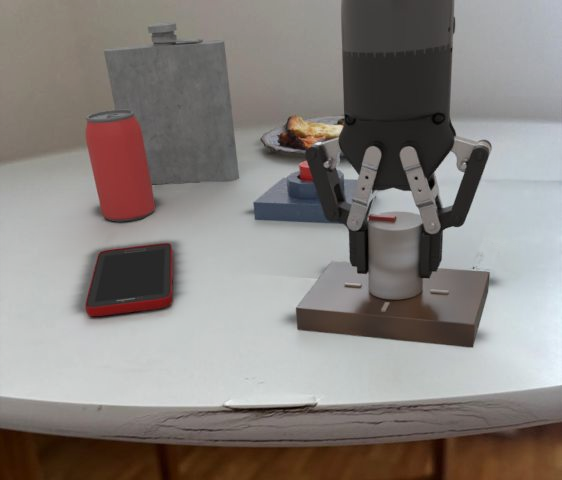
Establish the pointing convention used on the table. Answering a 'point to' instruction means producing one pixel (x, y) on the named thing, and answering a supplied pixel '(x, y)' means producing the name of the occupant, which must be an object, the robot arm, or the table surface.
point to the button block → (297, 200)
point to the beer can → (119, 165)
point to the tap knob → (394, 255)
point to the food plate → (303, 133)
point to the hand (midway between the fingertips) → (395, 271)
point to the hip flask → (178, 105)
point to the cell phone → (131, 280)
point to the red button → (305, 172)
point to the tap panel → (397, 307)
